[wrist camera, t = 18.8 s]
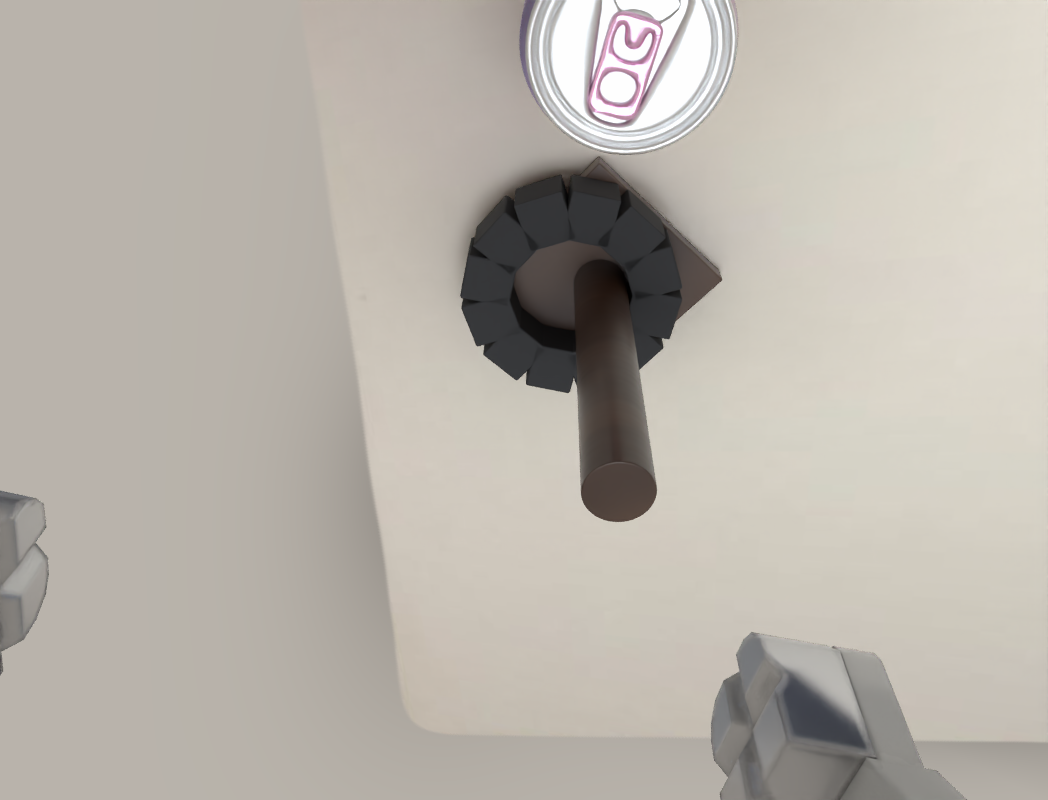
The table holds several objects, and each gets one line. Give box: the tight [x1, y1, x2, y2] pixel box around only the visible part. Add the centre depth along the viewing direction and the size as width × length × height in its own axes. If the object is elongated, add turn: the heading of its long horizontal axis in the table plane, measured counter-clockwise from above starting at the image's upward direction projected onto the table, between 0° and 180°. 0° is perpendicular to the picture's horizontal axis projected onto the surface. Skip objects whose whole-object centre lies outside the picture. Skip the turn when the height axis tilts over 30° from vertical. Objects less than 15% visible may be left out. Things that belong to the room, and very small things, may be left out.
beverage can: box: [520, 0, 738, 155], centre depth 31 cm, size 6×6×15 cm
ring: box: [460, 175, 682, 393], centre depth 43 cm, size 10×10×2 cm
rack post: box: [514, 157, 722, 522], centre depth 37 cm, size 8×8×17 cm
